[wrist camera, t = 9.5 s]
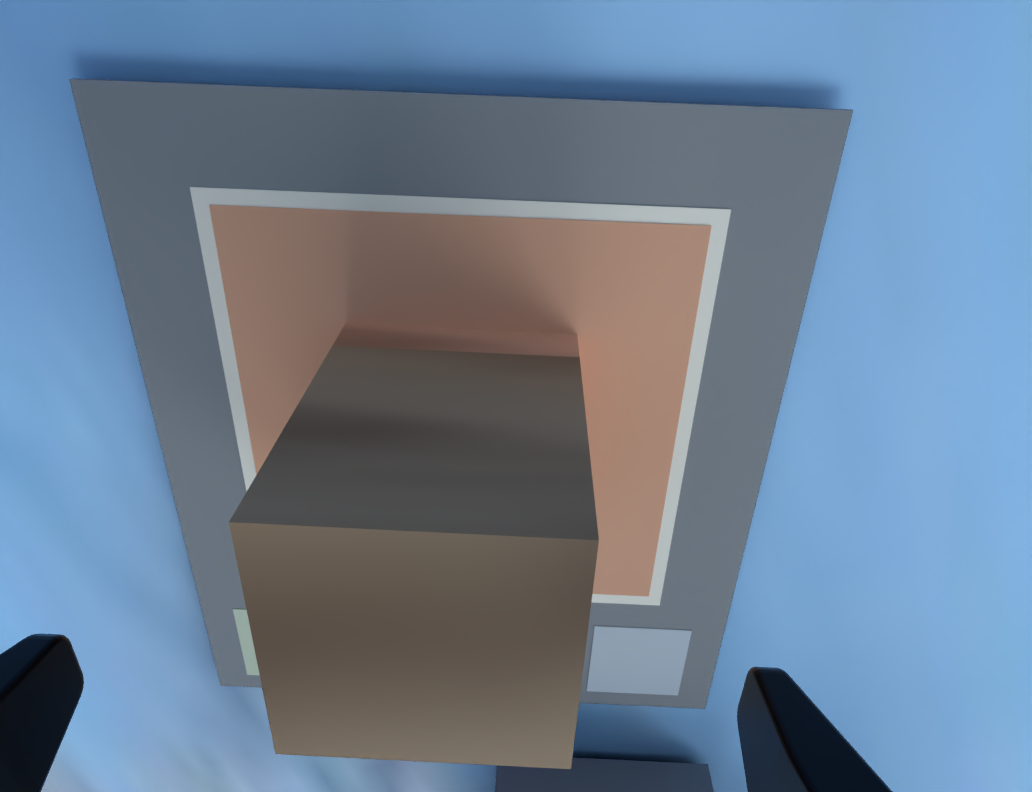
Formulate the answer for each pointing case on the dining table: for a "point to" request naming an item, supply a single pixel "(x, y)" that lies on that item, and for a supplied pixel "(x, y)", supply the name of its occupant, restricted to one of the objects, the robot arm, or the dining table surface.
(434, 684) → the block
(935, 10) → the dining table surface
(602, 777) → the button housing
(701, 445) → the picture mat
